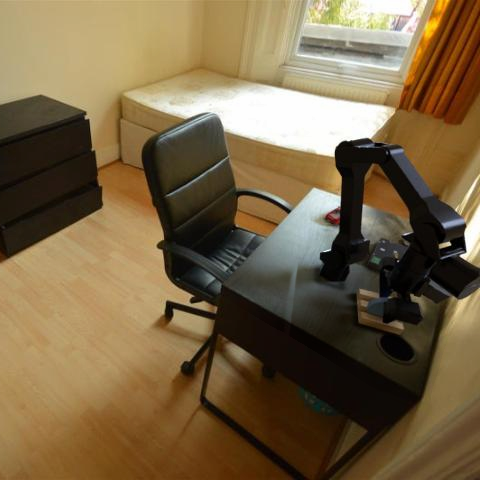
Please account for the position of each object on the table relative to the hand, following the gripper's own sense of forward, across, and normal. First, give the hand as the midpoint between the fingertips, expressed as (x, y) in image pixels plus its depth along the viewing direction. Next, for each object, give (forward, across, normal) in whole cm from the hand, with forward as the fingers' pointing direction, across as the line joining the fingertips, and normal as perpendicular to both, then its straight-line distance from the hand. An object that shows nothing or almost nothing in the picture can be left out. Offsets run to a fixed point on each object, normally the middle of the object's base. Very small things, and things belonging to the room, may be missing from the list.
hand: (383, 311), depth 81 cm
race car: (+4, +45, +8) cm, 46 cm away
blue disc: (+3, 0, 0) cm, 3 cm away
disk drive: (+4, +26, -6) cm, 27 cm away
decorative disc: (+4, +38, -14) cm, 41 cm away
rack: (+4, +2, 0) cm, 5 cm away
